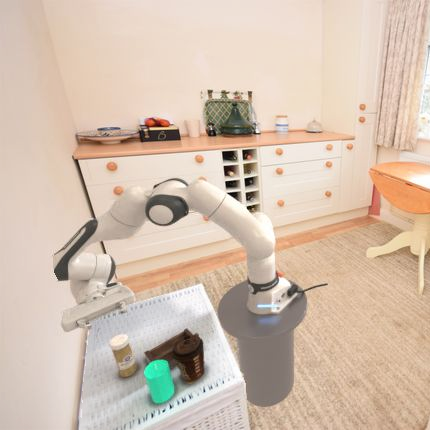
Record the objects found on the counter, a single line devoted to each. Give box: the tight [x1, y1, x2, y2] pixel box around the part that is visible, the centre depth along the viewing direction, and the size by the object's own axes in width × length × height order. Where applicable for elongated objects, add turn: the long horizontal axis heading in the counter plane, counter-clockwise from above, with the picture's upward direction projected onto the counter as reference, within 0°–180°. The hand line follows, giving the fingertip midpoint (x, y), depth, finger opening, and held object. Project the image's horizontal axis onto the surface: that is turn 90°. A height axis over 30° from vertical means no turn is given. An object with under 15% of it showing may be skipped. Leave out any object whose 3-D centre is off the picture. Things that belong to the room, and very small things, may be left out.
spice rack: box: [143, 328, 200, 371], centre depth 95 cm, size 14×9×7 cm, turn 139°
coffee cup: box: [172, 334, 206, 385], centre depth 88 cm, size 9×8×13 cm
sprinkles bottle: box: [109, 333, 138, 378], centre depth 88 cm, size 5×5×13 cm
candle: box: [143, 360, 176, 404], centre depth 82 cm, size 6×6×12 cm
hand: (106, 319), depth 93 cm, fingers open, 8 cm apart
